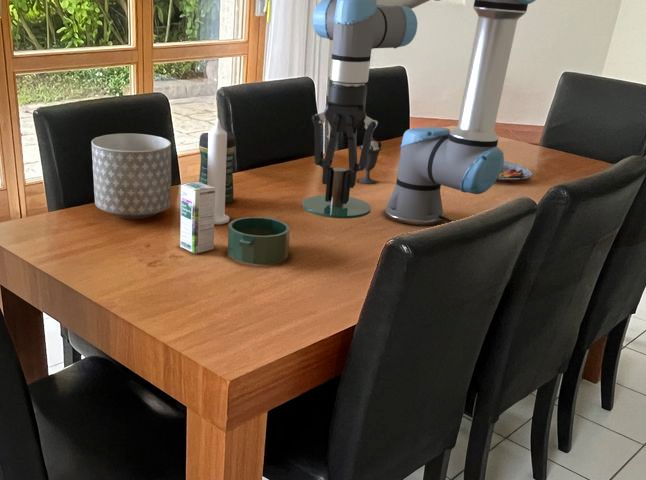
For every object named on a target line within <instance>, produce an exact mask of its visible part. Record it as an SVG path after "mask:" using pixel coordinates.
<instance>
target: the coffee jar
mask: <svg viewBox="0 0 646 480" xmlns="http://www.w3.org/2000/svg"><path fill="white" fill-rule="evenodd" d="M225 131H226V132H227V154H226V186H225V204H226V203H227V204H228V203H231V202H233V201H234V169H233V167H234V166H233V165H234V163H233V162H234V154H235V151H236V148H237V147H236V136H235V133H233V132H231V131H228V130H225ZM198 148H199V153H200V166H199V176H198V177H199V178H198V182H201V183H203V184H206V185H207V178H208V132H203V133H201V134H200V136H199V142H198Z"/></svg>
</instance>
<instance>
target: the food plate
mask: <svg viewBox="0 0 646 480" xmlns="http://www.w3.org/2000/svg"><path fill="white" fill-rule="evenodd" d="M533 177H534V173H532V172H531V171H530V170H529V169H528V168H527V167H525V166H523V165H521V164H518V163H513V162H509V161H505V160H504V163H503V167H502V170H501V173H500V175H499V177H498V178H497V180H498V181H501V182H502V181H503V182H504V181H506V182H509V181H520V180H528V179H529V180H530V179H532V178H533Z"/></svg>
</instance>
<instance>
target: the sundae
mask: <svg viewBox="0 0 646 480" xmlns="http://www.w3.org/2000/svg"><path fill="white" fill-rule="evenodd" d="M362 146H363V144H362V145H361V146H359V150H360V151H362ZM381 151H382V141H381V140H379V141H377V140H376V139H375V138H374V137H373V136H372V141H371V146H370V151H369V155H368V160H367V165H366V167H365V168H364V170H365V176H364V177H363V178H359V180H358V182H359V183H362V184H365V185H366V184H368V185H370V184H375V182H376V180H373V179H371V177H370V173H371V171H372V170H373V169H374V168H375V167H376V165H377V161H378V158H379V154H380V152H381Z"/></svg>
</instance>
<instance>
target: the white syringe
mask: <svg viewBox="0 0 646 480" xmlns="http://www.w3.org/2000/svg"><path fill="white" fill-rule="evenodd" d="M226 131H227V130H225V129H224V128H223V127H222V125H221V120H220V118H219V117H217V118H216V121H215V124H214V126H213V127H212V128H211V129H210V130H208V132H207V133H208V178H207V185H208V186H211V187H214V188H215V216H214V225H225V224H228V223H230V219H231V218H230V216H229V215H228V214H226V213H225V212H226V210H225V209H226V203H225V186H226V154H227V132H226Z"/></svg>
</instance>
